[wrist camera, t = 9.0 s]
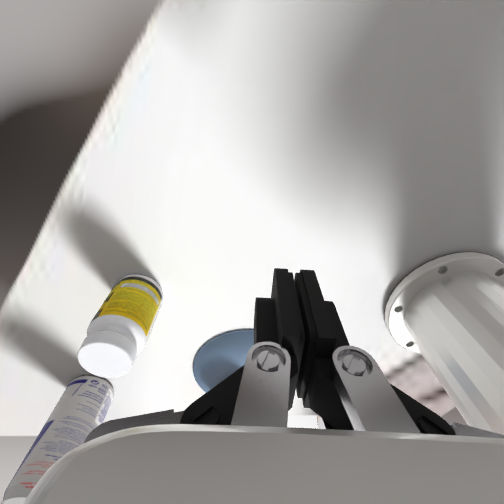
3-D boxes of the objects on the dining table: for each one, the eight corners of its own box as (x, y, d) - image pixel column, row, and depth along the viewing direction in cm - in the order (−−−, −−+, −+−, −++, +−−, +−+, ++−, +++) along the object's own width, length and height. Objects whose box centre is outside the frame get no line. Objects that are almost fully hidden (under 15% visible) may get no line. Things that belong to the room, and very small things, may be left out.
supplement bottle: (116, 268, 28) (70, 332, 21) (166, 277, 29) (139, 343, 21) (114, 306, 30) (72, 377, 23) (161, 314, 31) (135, 385, 23)
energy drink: (64, 392, 37) (-9, 514, 26) (78, 367, 34) (6, 490, 24) (105, 406, 38) (52, 527, 28) (122, 384, 36) (71, 505, 26)
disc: (310, 331, 32) (310, 332, 32) (295, 404, 39) (295, 406, 38) (190, 328, 32) (190, 329, 32) (195, 402, 38) (195, 404, 38)
